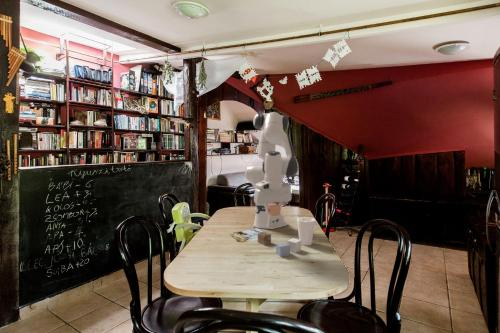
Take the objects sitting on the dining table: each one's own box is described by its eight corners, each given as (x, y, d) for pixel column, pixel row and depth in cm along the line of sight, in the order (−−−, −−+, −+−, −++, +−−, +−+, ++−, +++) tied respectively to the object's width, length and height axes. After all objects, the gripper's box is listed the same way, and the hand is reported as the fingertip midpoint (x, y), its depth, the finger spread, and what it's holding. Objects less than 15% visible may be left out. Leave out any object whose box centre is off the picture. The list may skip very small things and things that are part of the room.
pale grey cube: (292, 247, 149) (292, 238, 148) (301, 250, 145) (301, 240, 145) (287, 250, 145) (287, 240, 145) (295, 252, 142) (295, 242, 141)
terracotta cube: (274, 213, 150) (274, 203, 149) (280, 215, 145) (280, 205, 145) (266, 214, 148) (266, 204, 147) (271, 216, 143) (271, 206, 143)
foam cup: (304, 247, 148) (304, 222, 147) (293, 242, 157) (293, 218, 156) (318, 244, 153) (318, 220, 152) (307, 239, 161) (307, 216, 160)
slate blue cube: (285, 251, 143) (285, 242, 143) (289, 255, 138) (290, 245, 138) (276, 253, 142) (276, 243, 141) (280, 257, 137) (280, 246, 136)
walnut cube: (265, 240, 159) (265, 231, 159) (270, 243, 155) (271, 234, 155) (257, 242, 156) (257, 233, 156) (263, 245, 152) (263, 235, 152)
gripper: (287, 181, 153) (286, 207, 154) (252, 184, 143) (252, 212, 145) (294, 183, 147) (293, 210, 148) (258, 186, 138) (258, 214, 139)
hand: (273, 211), depth 146 cm, fingers closed on terracotta cube, 5 cm apart
